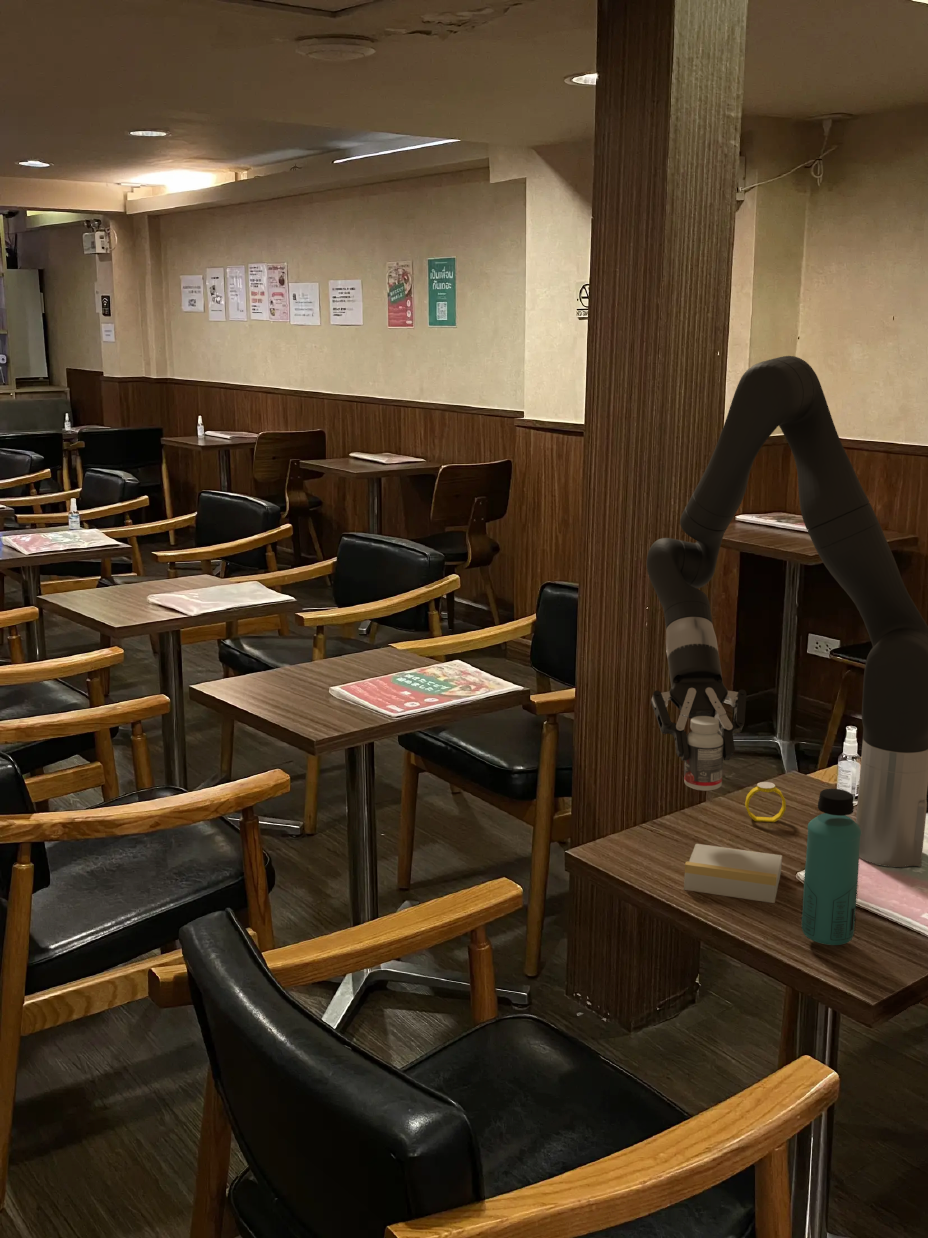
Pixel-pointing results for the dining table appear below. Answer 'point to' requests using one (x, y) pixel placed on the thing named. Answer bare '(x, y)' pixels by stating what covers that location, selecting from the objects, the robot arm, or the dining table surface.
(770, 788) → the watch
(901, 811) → the robot arm
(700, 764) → the pill bottle
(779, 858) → the dock
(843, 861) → the beverage bottle
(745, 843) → the dining table surface
